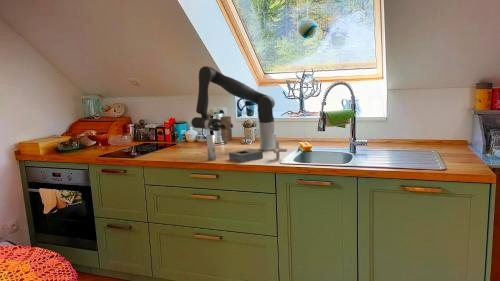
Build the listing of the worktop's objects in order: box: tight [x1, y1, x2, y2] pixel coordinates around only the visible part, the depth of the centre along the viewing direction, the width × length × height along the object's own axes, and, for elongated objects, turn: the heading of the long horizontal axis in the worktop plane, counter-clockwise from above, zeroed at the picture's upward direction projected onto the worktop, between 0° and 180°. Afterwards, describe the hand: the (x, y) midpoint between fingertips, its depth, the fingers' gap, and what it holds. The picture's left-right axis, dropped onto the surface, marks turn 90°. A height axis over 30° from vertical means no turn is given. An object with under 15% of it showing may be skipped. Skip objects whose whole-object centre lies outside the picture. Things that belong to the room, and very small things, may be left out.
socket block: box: [228, 148, 264, 163], centre depth 213 cm, size 15×11×4 cm
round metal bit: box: [206, 134, 217, 162], centre depth 213 cm, size 4×4×14 cm
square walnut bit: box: [219, 115, 233, 142], centre depth 222 cm, size 4×4×14 cm
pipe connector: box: [268, 140, 288, 160], centre depth 209 cm, size 10×10×10 cm
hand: (228, 126), depth 220 cm, fingers closed on square walnut bit, 4 cm apart
